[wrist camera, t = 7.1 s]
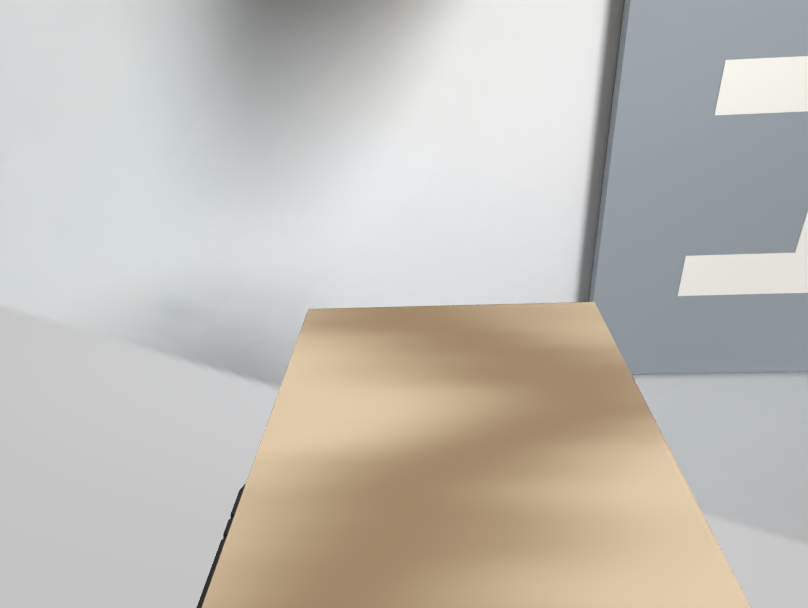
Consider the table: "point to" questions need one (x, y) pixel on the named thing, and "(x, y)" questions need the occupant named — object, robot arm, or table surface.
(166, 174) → the table surface
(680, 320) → the letter board
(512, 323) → the oak block
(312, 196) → the table surface
